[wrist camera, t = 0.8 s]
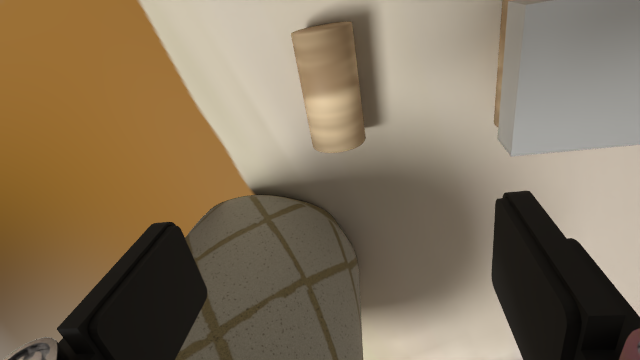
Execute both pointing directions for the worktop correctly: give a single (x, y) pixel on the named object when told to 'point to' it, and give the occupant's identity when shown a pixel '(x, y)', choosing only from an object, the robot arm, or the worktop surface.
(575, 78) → the slab
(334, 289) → the planter
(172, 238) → the robot arm
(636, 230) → the worktop surface
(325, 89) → the roller
